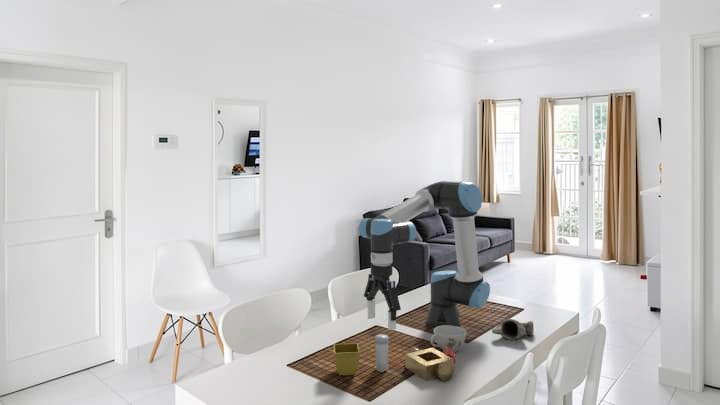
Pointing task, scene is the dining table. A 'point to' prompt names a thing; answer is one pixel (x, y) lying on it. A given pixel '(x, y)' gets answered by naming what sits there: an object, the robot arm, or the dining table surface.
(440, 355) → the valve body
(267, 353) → the dining table surface
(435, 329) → the teacup
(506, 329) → the grey hollow piece
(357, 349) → the flower pot
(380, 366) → the white capped shaker
